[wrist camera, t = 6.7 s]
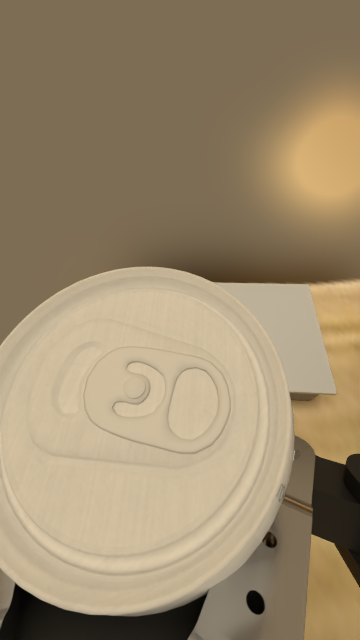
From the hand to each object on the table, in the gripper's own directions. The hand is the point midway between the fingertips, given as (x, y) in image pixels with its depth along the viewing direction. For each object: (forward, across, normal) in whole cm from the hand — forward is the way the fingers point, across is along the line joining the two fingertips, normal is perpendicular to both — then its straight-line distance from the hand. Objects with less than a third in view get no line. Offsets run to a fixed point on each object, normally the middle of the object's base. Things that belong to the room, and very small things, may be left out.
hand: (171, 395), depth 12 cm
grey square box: (+20, -8, +5) cm, 22 cm away
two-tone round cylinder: (+4, 0, +6) cm, 8 cm away
